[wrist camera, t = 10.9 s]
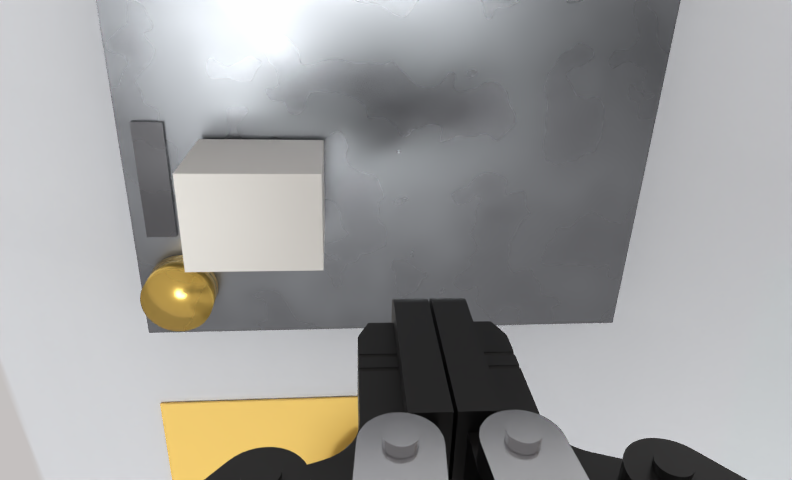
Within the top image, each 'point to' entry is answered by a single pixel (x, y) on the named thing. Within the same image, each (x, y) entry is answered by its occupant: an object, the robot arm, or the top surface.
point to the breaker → (252, 205)
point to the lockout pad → (254, 430)
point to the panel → (398, 148)
